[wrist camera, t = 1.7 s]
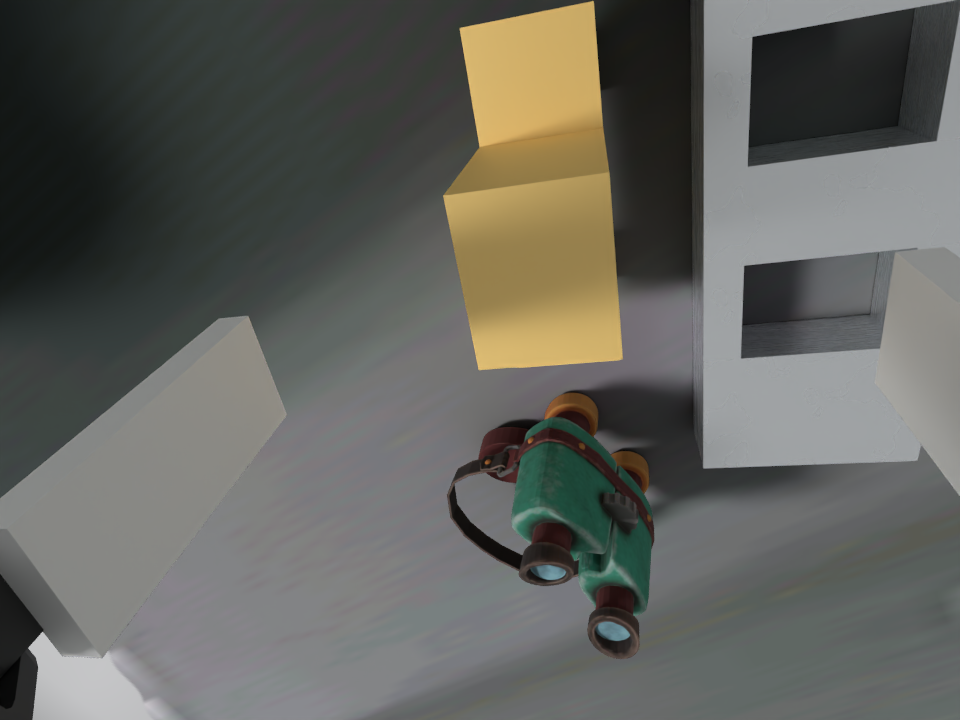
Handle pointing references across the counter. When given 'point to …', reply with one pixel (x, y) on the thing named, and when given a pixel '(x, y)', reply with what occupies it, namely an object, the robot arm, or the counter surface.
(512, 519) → the binoculars
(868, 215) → the grey board with holes
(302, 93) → the counter surface
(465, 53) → the yellow stepped block
